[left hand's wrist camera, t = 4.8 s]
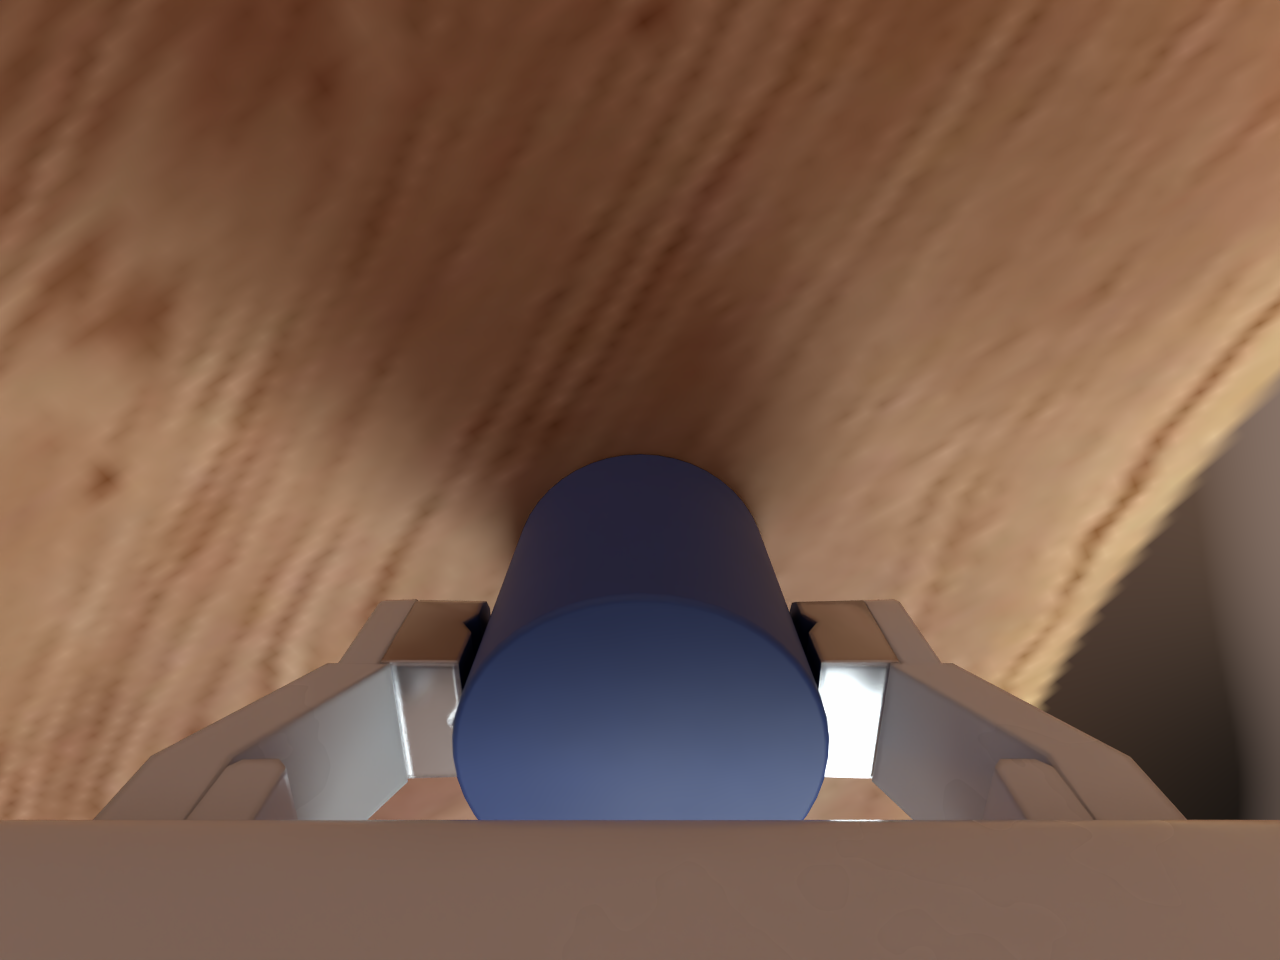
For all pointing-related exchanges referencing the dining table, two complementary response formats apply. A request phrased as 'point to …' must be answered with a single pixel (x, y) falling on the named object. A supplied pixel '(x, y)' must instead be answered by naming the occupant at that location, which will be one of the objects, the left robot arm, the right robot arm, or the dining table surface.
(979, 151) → the dining table surface
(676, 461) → the canister
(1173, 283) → the dining table surface
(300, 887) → the left robot arm
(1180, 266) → the dining table surface
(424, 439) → the dining table surface
